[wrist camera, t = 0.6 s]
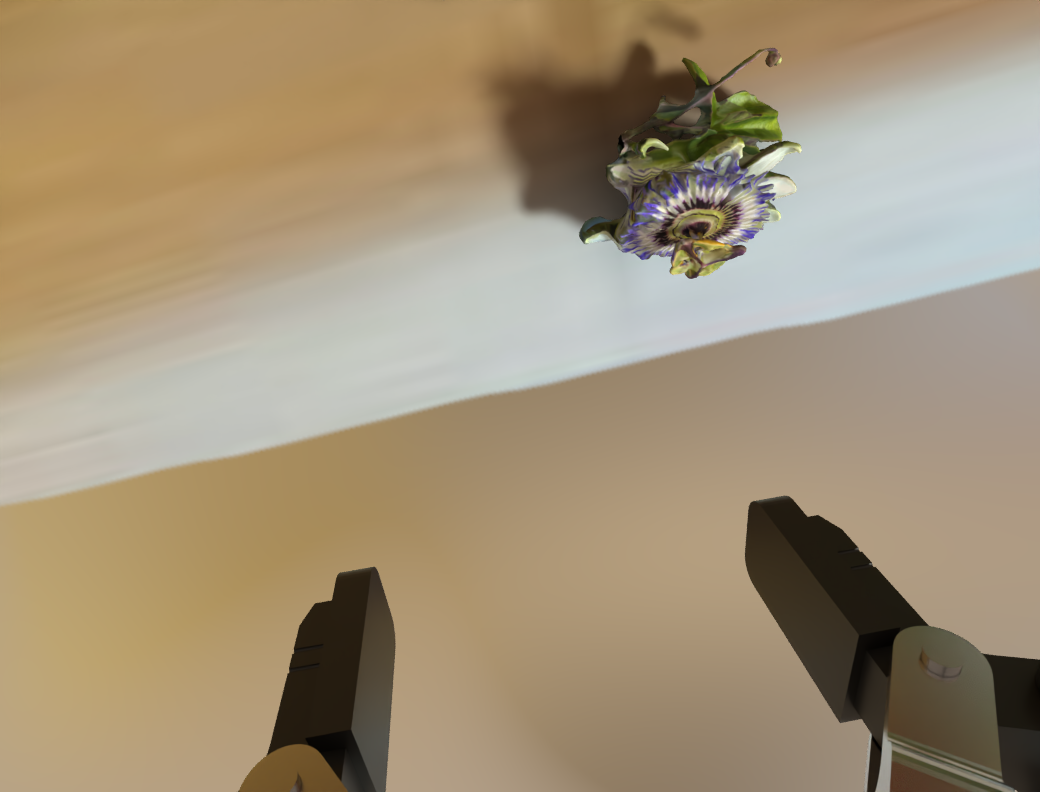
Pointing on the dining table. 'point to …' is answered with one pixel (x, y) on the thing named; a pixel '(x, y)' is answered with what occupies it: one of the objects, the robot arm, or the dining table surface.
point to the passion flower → (698, 179)
